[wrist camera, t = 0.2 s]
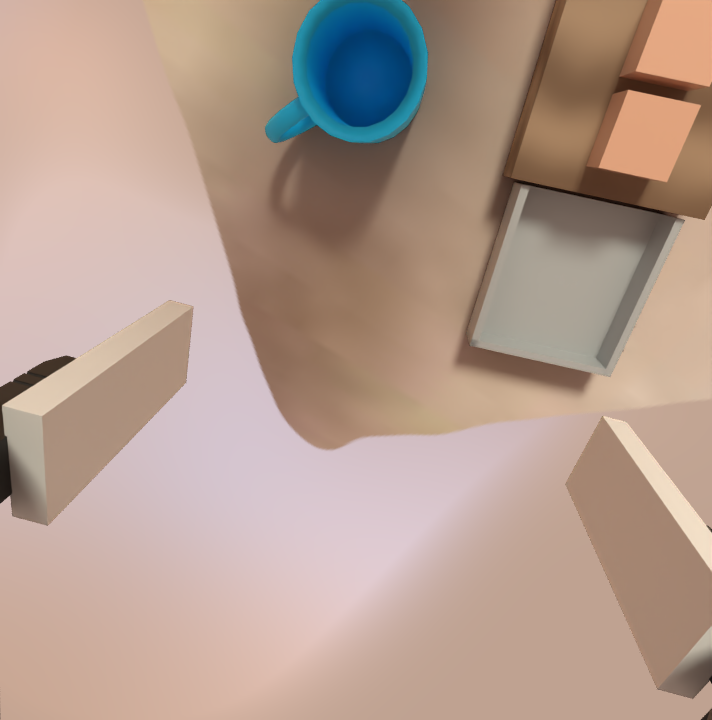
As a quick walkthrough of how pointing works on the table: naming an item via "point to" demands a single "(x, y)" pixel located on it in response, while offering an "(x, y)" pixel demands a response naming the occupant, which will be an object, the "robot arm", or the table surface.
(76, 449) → the robot arm
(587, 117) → the brown square slab
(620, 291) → the tray
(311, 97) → the mug
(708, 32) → the tile
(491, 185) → the table surface
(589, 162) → the tile
